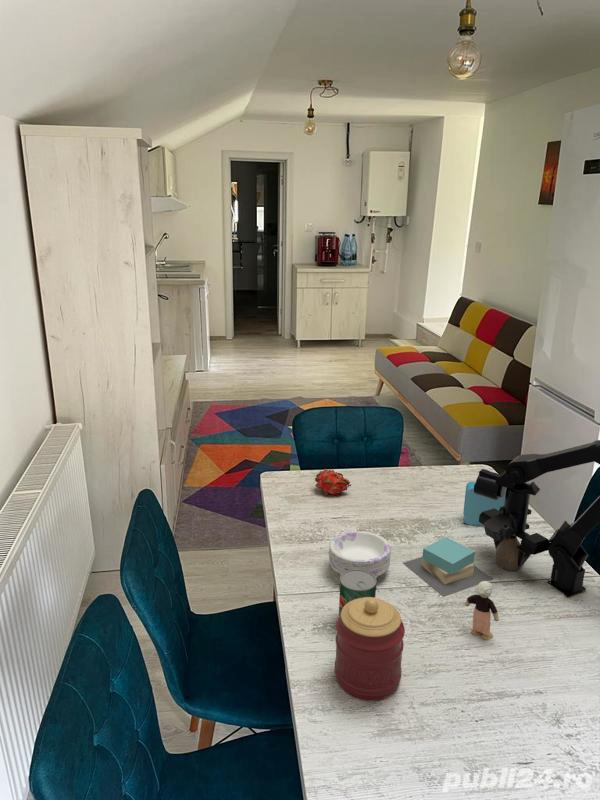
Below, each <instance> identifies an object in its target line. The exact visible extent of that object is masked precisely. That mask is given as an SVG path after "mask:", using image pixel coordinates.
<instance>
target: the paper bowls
mask: <svg viewBox="0 0 600 800" xmlns="http://www.w3.org/2000/svg"><path fill="white" fill-rule="evenodd" d="M328 545H329V546H328V547H329V549H328V563H329V565H330V567H331V568H332V570H334V572H336V573H338V574H339V575H340V576H341V575H342V574H343V573H344V572H346V571H348V570H353V569H360V570H365V571H368V572H370V573H371V574H373V575H374V576H375V578H376V579H378V577H379V576H382V575H383V574H385V573H386V572H387V571H388V569H389V568H390V564H391V551H392V549H391V545H390V543H389V542H388V541H387V540H386V539H385V538H384V537H382V536H381V535H379V534H376V533H373V532H369V531H362V530H361V531H359V530H357V531H355V530H354V531H347V532H343V533H340V534H338V535H336V536H334V537H333V538H332V539H331V540H330V542H329V544H328Z"/></svg>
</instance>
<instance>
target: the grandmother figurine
mask: <svg viewBox="0 0 600 800" xmlns="http://www.w3.org/2000/svg"><path fill="white" fill-rule="evenodd" d="M475 592H476V594H473V595H470V596H468V597H467V598H466V600H465V602H464V605H465V607H469V606H470V605H471V604H472V605H475V606H474V610H473V615H472V629H471V631H470V633H471V634H472V635H474V636H479V635H480V634H481V635H480V638H481V639H483V640H485V641H486V640H490V639H492V638H493V636H494V635H493V633H492V632H491V619H492V618H491V614H492V616H493V620H494V621H495V622H499V620H500V618H499V613H498V609H497V607H496V605H495V603H494V601H493V600H492V599H490V598H489V597H490V596H491V594H492V592H493V585H492V584H491V582H490V581H482V582H480V583H479V584H478V585H476V588H475Z"/></svg>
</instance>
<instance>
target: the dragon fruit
mask: <svg viewBox="0 0 600 800" xmlns="http://www.w3.org/2000/svg"><path fill="white" fill-rule="evenodd" d="M314 481H315V482H316V484H315V487H316V488H318V489H321V490H322V491H323V493H324V495H325V496H327V495H329V494H331V495H334V496H335V497H337V496H342V495H343V493H342V492H345V491H347V490H348V489H349V487H352V484H351V481H350V480H349V479H347V478H345V477H344V475H343V474H342V473H340V472H338V471H335V470H333V469H327V468H324V469H323V470H320V471H319V472H318V473H316V475H315V478H314Z"/></svg>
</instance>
